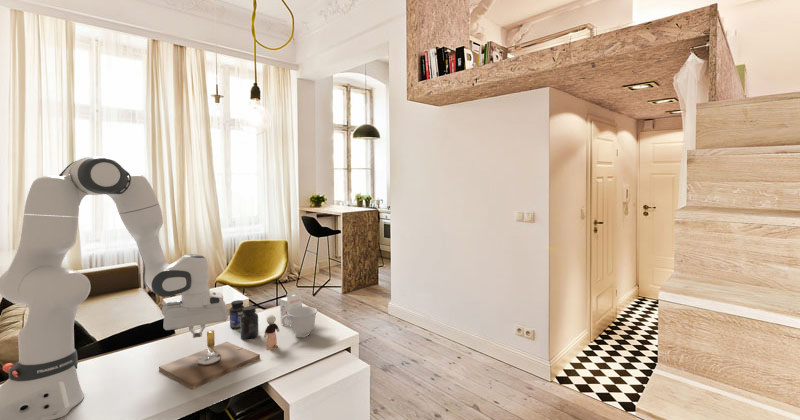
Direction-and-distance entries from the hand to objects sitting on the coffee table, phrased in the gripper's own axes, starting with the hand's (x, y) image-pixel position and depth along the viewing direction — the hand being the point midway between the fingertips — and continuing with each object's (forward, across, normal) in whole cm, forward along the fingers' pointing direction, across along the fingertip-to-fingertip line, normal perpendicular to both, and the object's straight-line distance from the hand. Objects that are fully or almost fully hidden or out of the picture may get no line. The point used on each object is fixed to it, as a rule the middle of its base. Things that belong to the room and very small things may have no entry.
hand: (197, 336), depth 134 cm
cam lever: (+5, +4, -7) cm, 9 cm away
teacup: (+8, +37, +2) cm, 37 cm away
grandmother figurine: (+8, +24, -5) cm, 26 cm away
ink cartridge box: (+8, +37, +18) cm, 42 cm away
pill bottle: (+8, +15, +24) cm, 29 cm away
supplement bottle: (+8, +18, +10) cm, 22 cm away
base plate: (+7, +4, -10) cm, 12 cm away
